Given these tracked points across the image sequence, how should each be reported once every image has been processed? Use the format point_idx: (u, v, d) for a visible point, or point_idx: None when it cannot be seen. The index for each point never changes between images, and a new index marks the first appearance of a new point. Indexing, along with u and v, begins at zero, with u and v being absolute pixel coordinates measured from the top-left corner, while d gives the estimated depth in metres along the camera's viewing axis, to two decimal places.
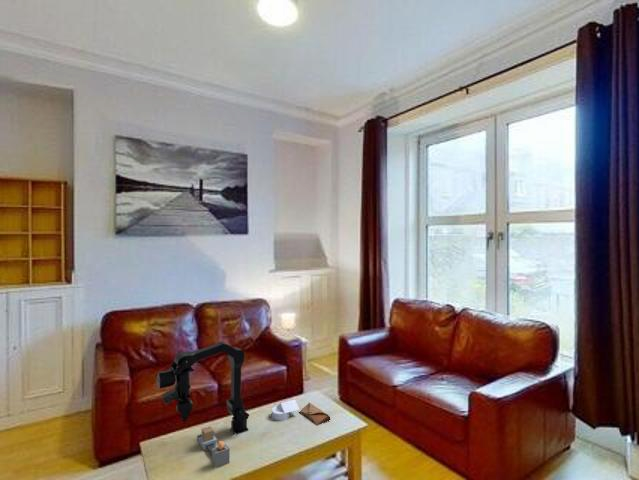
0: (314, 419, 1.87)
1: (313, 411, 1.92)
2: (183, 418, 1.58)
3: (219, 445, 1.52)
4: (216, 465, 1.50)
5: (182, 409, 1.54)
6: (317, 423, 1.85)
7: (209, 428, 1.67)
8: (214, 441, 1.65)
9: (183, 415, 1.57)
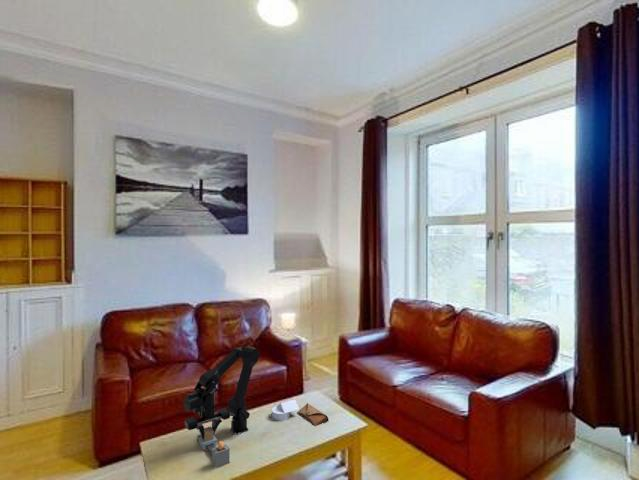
0: (312, 420, 1.86)
1: (311, 412, 1.91)
2: (200, 433, 1.64)
3: (219, 445, 1.52)
4: (216, 465, 1.50)
5: (185, 424, 1.61)
6: (315, 424, 1.84)
7: (209, 428, 1.67)
8: (214, 441, 1.65)
9: (199, 430, 1.64)
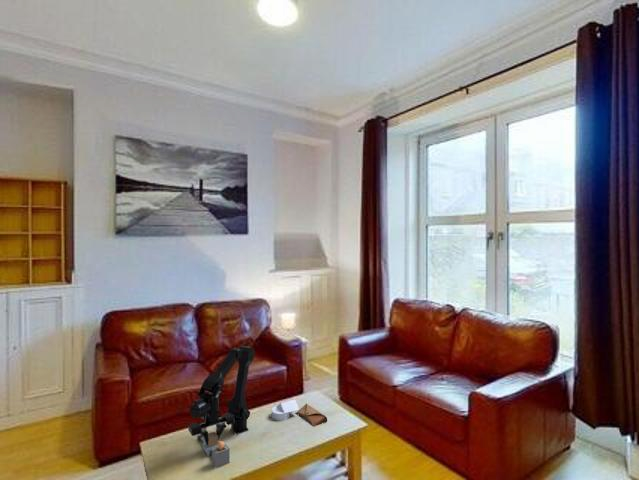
0: (311, 420, 1.86)
1: (310, 412, 1.91)
2: (204, 439, 1.60)
3: (219, 445, 1.52)
4: (216, 465, 1.50)
5: (189, 429, 1.57)
6: (314, 424, 1.84)
7: (213, 433, 1.63)
8: None
9: (203, 436, 1.60)
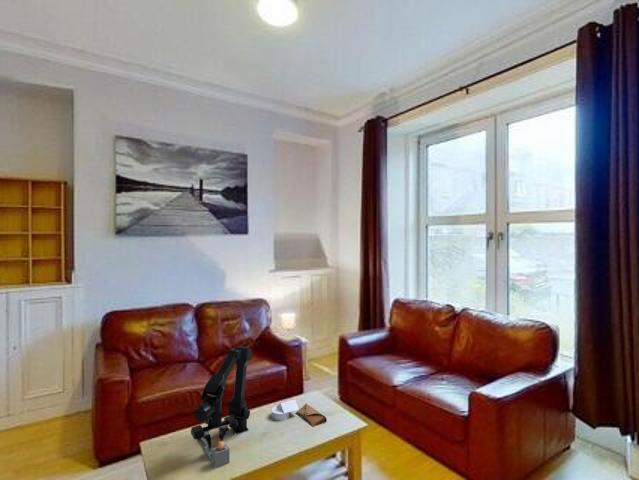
0: (310, 420, 1.86)
1: (310, 412, 1.91)
2: (207, 442, 1.58)
3: (219, 445, 1.52)
4: (216, 465, 1.50)
5: (191, 433, 1.54)
6: (313, 424, 1.84)
7: (216, 437, 1.60)
8: None
9: (206, 439, 1.57)
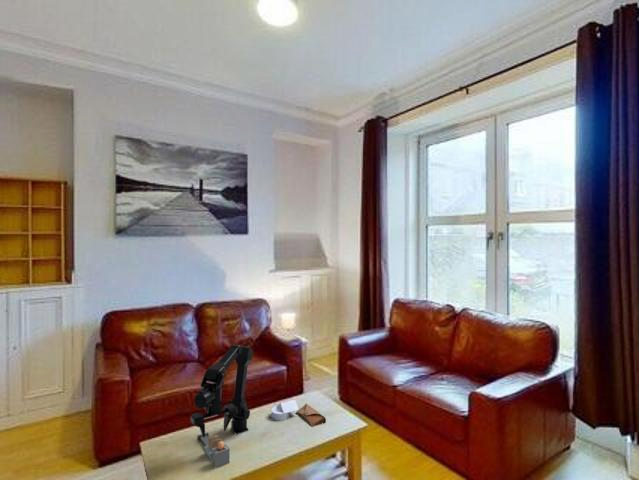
0: (309, 420, 1.86)
1: (309, 412, 1.91)
2: (201, 431, 1.56)
3: (219, 445, 1.52)
4: (216, 465, 1.50)
5: (191, 420, 1.54)
6: (312, 424, 1.83)
7: (216, 437, 1.60)
8: None
9: (200, 428, 1.55)
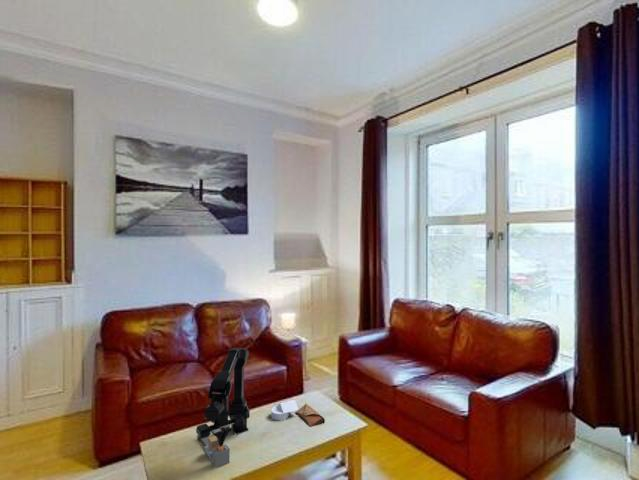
0: (308, 420, 1.86)
1: (308, 412, 1.91)
2: None
3: (219, 448, 1.52)
4: (216, 465, 1.50)
5: (197, 432, 1.49)
6: (311, 424, 1.83)
7: (216, 437, 1.60)
8: None
9: (217, 437, 1.53)
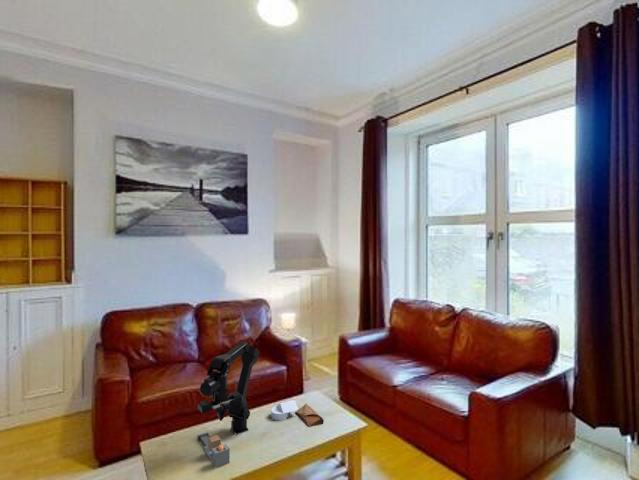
0: (307, 420, 1.85)
1: (307, 412, 1.90)
2: (218, 415, 1.65)
3: (219, 449, 1.52)
4: (216, 465, 1.50)
5: (198, 407, 1.60)
6: (309, 425, 1.83)
7: (216, 437, 1.60)
8: None
9: (217, 412, 1.64)
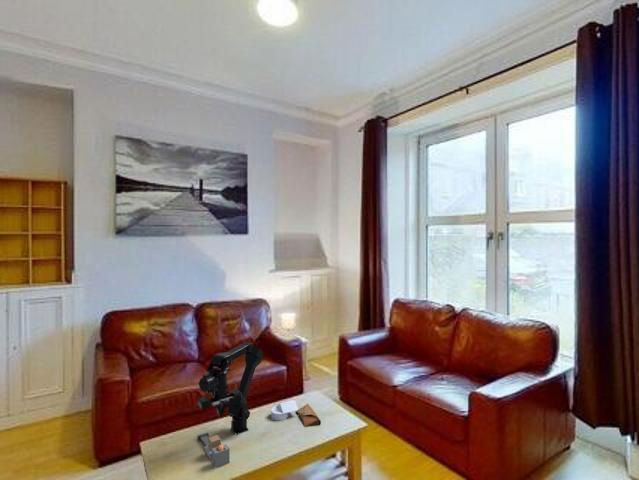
0: (304, 420, 1.85)
1: (306, 412, 1.90)
2: (217, 412, 1.67)
3: (219, 449, 1.52)
4: (216, 465, 1.50)
5: (198, 404, 1.62)
6: (306, 425, 1.83)
7: (216, 437, 1.60)
8: None
9: (216, 409, 1.66)
